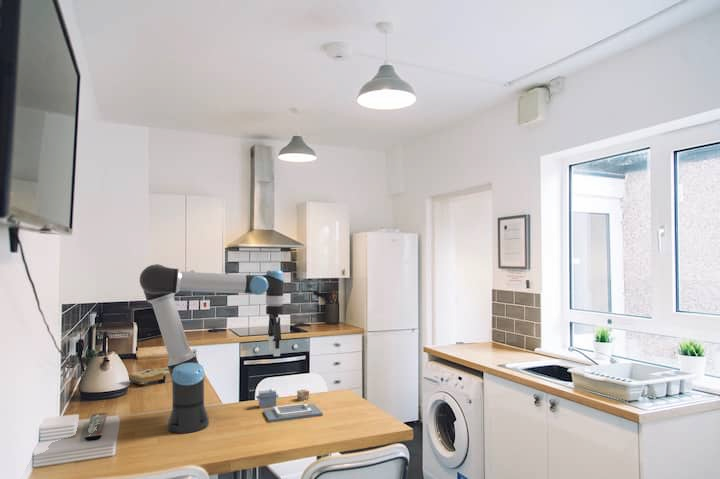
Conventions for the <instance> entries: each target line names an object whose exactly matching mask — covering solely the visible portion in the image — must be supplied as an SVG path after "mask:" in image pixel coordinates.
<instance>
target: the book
mask: <svg viewBox="0 0 720 479" xmlns="http://www.w3.org/2000/svg"><path fill="white" fill-rule="evenodd" d="M128 377H129V380H128V381H131V382H134V383H135V384H136V385H138V386H142V387H148V386H152V385H153V386H154V385H158V384H169V383H172V379H171V376H170V372H169V369H168V366H166V367H162V368H153V369H152V368H148V369H144V370H141V371H133V372H130V373H129V374H128Z"/></svg>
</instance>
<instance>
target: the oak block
mask: <svg viewBox="0 0 720 479" xmlns="http://www.w3.org/2000/svg"><path fill="white" fill-rule="evenodd" d="M296 395H297V396H296V397H297V400H298V401H300V402H305V401H304V400H306V401H309V400H310V391H309V390H307V389H300V390H299V389H298V390H296ZM308 399H309V400H308Z"/></svg>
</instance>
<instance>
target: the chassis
mask: <svg viewBox="0 0 720 479" xmlns="http://www.w3.org/2000/svg"><path fill="white" fill-rule="evenodd" d="M262 413H263V414H264V416H265V418H266V420H267V421H268V423H275V422H281V421H291V420H299V419H306V418H307V419H308V418H313V417H314V418H315V417H321V416H323V415H324V414H323V411H321V410H320V409H319V408H318V407H317V406H316V404H315V403H311V404H307V403H306V402H302V403H293V404H286V405H276V406H275V407H273V408H268V409H267V408H265V409H263V412H262Z"/></svg>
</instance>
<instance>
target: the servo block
mask: <svg viewBox="0 0 720 479" xmlns="http://www.w3.org/2000/svg"><path fill="white" fill-rule="evenodd" d="M279 397H280V395H279V394H278V393H277V390H276V389H274V388H270V389H267V390H259V391H258V395H256V396H255V398H256V399H257V400H258V407H259V409H260V408H261V409H267V408H268V407H269V408H274V407H275V406H277V398H279ZM269 408H268V409H269Z"/></svg>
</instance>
